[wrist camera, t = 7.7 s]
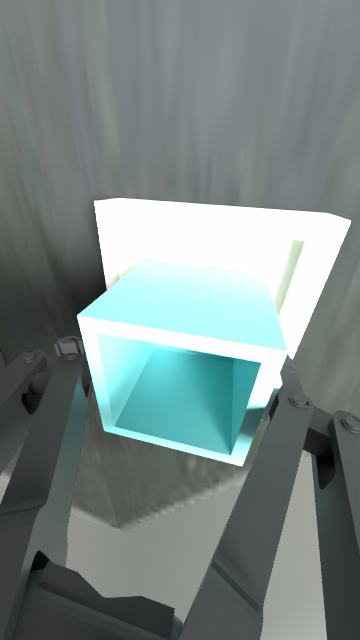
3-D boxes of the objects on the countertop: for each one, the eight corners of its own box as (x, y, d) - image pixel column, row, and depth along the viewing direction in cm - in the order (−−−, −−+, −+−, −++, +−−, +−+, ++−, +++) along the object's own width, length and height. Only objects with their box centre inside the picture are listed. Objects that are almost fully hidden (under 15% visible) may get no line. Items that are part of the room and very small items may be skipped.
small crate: (149, 347, 20) (104, 430, 13) (146, 258, 15) (77, 315, 9) (240, 364, 18) (242, 466, 12) (264, 272, 14) (287, 351, 8)
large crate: (129, 318, 29) (113, 338, 25) (118, 197, 22) (94, 201, 18) (280, 343, 26) (287, 370, 23) (328, 213, 19) (351, 220, 15)
